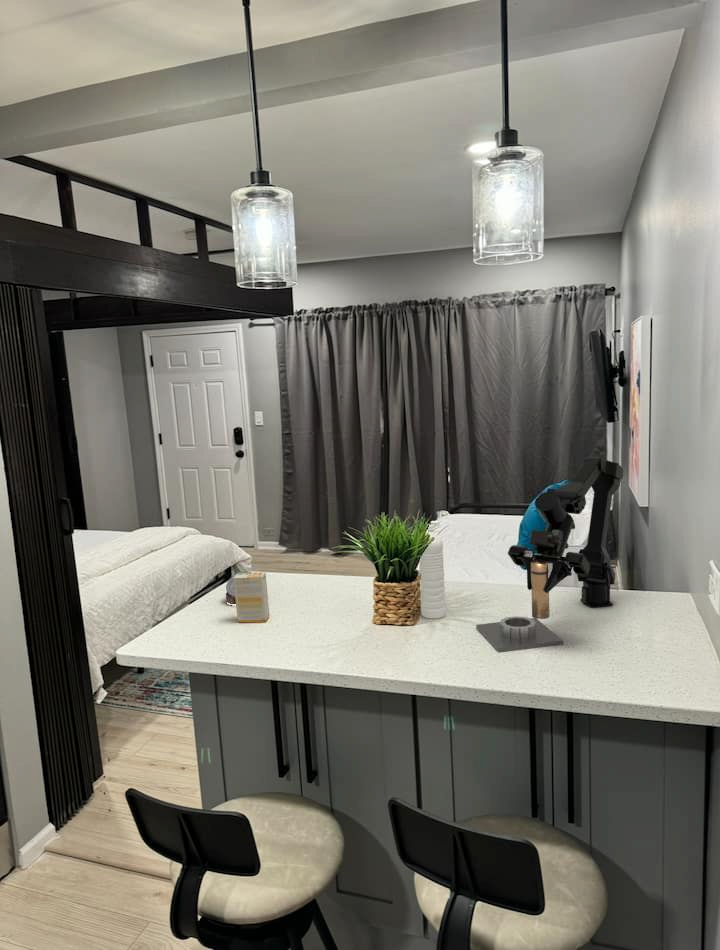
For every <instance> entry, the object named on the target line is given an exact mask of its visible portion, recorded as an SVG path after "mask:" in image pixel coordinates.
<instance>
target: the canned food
mask: <svg viewBox="0 0 720 950" xmlns="http://www.w3.org/2000/svg"><path fill="white" fill-rule="evenodd" d="M238 573H253V572H251V571H248V570H243V571H239V572H237V573H235V574H233V575H232V576H231V577H230V578H229V579H228V581H227V583H226V584H225V591H226V593H225V598H226V599H225V600H226V603H227V602H228V603H230V604H236V599H235V589H234V579H233V578H234V577H235V576H236V575H237V574H238Z"/></svg>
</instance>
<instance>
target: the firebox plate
mask: <svg viewBox="0 0 720 950" xmlns="http://www.w3.org/2000/svg"><path fill="white" fill-rule="evenodd" d="M475 629H476V630H477V631H478V632H479V633H480V635H481V636H483V637H484V639H485V640H486V641H487V642H488V643H489V644H490V645H491V646H492V647H493V648H494V649H495V650H496V651H497V652H498V653H502V652H503V653H504V652H511V651H518V650H519V651H520V650H528V649H535V648H545V647H552V646H553V647H554V646H560V645H564V640H563V639H562V638H561V637H560V636H559V635H557V634H556V633H555V632H554V631H552V629H550V628H549V627H548V626H546V625H545V624H544V623H543V622H542V621H540V619H537V618H534V617H532V618H531V617H527V616H519V615H518V616H517V615H516V616H515V615H514V616H507V617H504V618H502V619H500V621H497V622H489V623H480V624H475Z"/></svg>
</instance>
